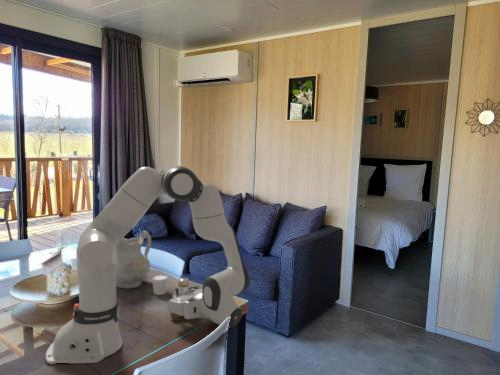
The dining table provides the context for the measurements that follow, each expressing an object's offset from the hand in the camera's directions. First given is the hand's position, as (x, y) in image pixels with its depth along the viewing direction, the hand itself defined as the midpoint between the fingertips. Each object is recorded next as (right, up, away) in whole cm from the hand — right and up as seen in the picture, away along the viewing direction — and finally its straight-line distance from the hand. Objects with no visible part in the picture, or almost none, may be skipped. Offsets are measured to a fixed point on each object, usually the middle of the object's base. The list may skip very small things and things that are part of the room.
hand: (182, 293), depth 146 cm
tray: (0, -7, +14) cm, 15 cm away
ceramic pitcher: (-30, -4, +31) cm, 43 cm away
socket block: (+1, -8, 0) cm, 8 cm away
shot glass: (-14, -6, +21) cm, 26 cm away
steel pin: (+1, -8, 0) cm, 8 cm away
